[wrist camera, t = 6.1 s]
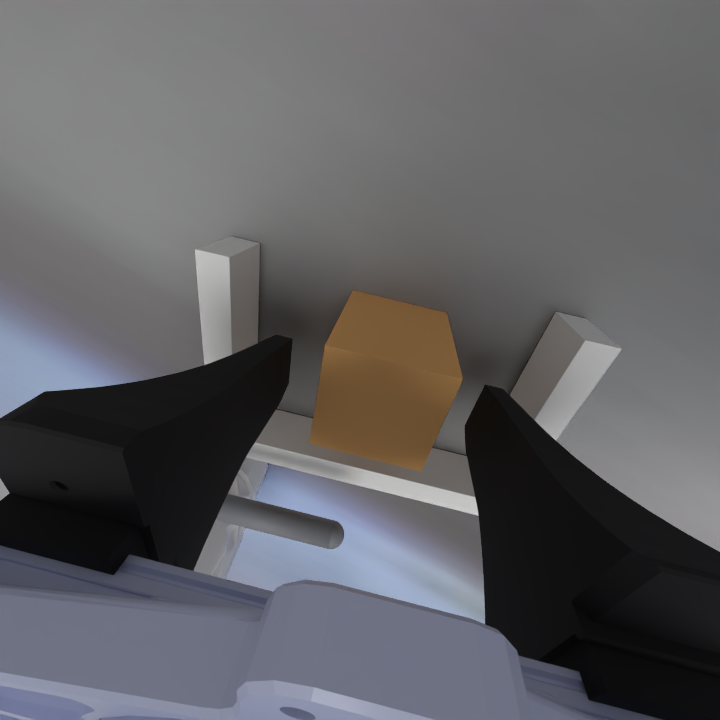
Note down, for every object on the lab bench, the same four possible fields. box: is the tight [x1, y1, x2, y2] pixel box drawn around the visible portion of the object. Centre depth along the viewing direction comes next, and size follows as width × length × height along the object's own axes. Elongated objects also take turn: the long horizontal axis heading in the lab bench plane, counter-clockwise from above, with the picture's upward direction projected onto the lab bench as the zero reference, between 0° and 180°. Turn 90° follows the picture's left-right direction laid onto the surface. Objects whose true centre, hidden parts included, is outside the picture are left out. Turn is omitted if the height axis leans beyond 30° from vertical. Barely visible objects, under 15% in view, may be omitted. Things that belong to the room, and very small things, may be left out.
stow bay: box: [195, 237, 622, 549], centre depth 13 cm, size 14×10×6 cm
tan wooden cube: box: [309, 290, 463, 472], centre depth 12 cm, size 4×4×5 cm
